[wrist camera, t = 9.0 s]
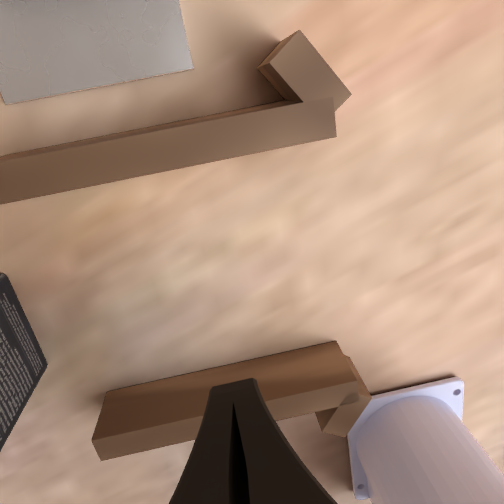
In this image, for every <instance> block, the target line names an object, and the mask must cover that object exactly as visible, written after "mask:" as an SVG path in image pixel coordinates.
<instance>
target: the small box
mask: <svg viewBox="0 0 504 504" xmlns="http://www.w3.org/2000/svg"><path fill="white" fill-rule="evenodd" d="M47 365H48V364H47V362H46V359H45V357H44V355H43V353H42V350H41V348H40V346H39V344H38V342H37V340H36V337H35V335H34V333H33V331H32V328H31V326H30V324H29V322H28V320H27V318H26V316H25V314H24V311H23V309H22V307H21V305H20V303H19V301H18V299H17V296H16V294H15V292H14V290H13V288H12V286H11V284H10V281H9V279H8V278H7V276H6V275H5V274H1V273H0V451H1V449H2V447H3V445H4V444H5V442H6V440H7V438H8V436H9V435H10V433H11V431H12V429H13V427H14V425H15V424H16V422H17V420H18V418H19V416H20V414H21V413H22V411H23V409H24V407H25V405H26V404H27V402H28V400H29V398H30V396H31V395H32V393H33V391H34V389H35V387H36V385H37V384H38V382H39V380H40V378H41V376H42V375H43V373H44V371H45V369H46V368H47Z"/></svg>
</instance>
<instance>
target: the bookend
mask: <svg viewBox="0 0 504 504" xmlns="http://www.w3.org/2000/svg"><path fill="white" fill-rule="evenodd" d="M192 69H194V68H193V64H192V59H191V54H190V50H189V45H188V40H187V36H186V31H185V27H184V22H183V17H182V13H181V8H180V3H179V0H0V92H1V95H2V97H3V100H4V102H5V104H14V103H19V102H25V101H30V100H35V99H40V98H46V97H51V96H56V95H61V94H66V93H72V92H77V91H82V90H87V89H93V88H98V87H103V86H108V85H114V84H119V83H124V82H129V81H134V80H140V79H145V78H150V77H155V76H161V75H166V74H171V73H176V72H181V71H187V70H192Z"/></svg>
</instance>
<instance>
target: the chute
mask: <svg viewBox="0 0 504 504" xmlns="http://www.w3.org/2000/svg"><path fill="white" fill-rule="evenodd" d="M257 69H258V70H259V71H260V72H261V73H262V74H263V75H264V77H265V78H266V79H267V80H268V81H269V82H270V83H271V84H272V86H273V87H274V88H275V89H276V90H277V91H278V92H279V93H280V95H281V96H282V97H283V98H284V99H285V101H279V102H274V103H269V104H264V105H259V106H254V107H249V108H244V109H239V110H234V111H228V112H223V113H218V114H213V115H208V116H203V117H198V118H193V119H188V120H182V121H177V122H172V123H167V124H162V125H157V126H152V127H147V128H142V129H137V130H131V131H126V132H121V133H116V134H111V135H106V136H101V137H96V138H91V139H85V140H80V141H75V142H70V143H65V144H60V145H55V146H50V147H45V148H40V149H34V150H29V151H24V152H19V153H14V154H9V155H5V156H2V157H0V204H5V203H10V202H15V201H20V200H25V199H30V198H35V197H40V196H45V195H50V194H55V193H60V192H65V191H70V190H75V189H80V188H85V187H90V186H95V185H100V184H105V183H110V182H115V181H119V180H124V179H129V178H134V177H139V176H144V175H149V174H154V173H159V172H164V171H169V170H174V169H179V168H184V167H189V166H194V165H199V164H204V163H209V162H214V161H219V160H224V159H229V158H234V157H239V156H244V155H249V154H254V153H259V152H264V151H269V150H274V149H279V148H284V147H289V146H294V145H299V144H304V143H309V142H314V141H319V140H324V139H329V138H334V137H337V136H336V124H335V111H336V110H337V109H338V108H339V107H340V106H341V105H342V104H343V103H344V102H345V101H346V100H347V99H348V98H349V97H350V96H351V95H352V94H351V93H350V91H349V90H348V89H347V88H346V86H345V85H344V84H343V83H342V82H341V80H340V79H339V78H338V77H337V75H336V74H335V73H334V72H333V70H332V69H331V68H330V67H329V65H328V64H327V63H326V62H325V60H324V59H323V58H322V57H321V55H320V54H319V53H318V52H317V50H316V49H315V48H314V47H313V45H312V44H311V43H310V42H309V41H308V39H307V38H306V37H305V36H304V34H303V33H302V32H301V31H300V30H298V31H296V32H295V33H293V34H292V35H290V36H289V37H287V38H285V39H284V40H282V41H281V42H280V43H279V44H278V45H277V46H276V48H275V49H274V50H273V51H272V52H271V53H270V54H269V55H268V56H267V57H266V59H265V60H264V61H263V62H262V63H261V64H260V65H259V66H258V67H257ZM248 378H254V379H256V380H257V383H258V387H259V390H260V392H261V395H262V397H263V399H264V402H265V404H266V406H267V408H268V410H269V411H270V413H271V415H272V417H273V419H274V420H275V421H278V420H282V419H287V418H291V417H296V416H300V415H304V414H309V413H313V412H315V413H316V416H317V419H318V422H319V425H320V427H321V430H322V432H325V433H329V434H332V435H336V436H340V437H344V438H345V437H346V435H347V434H348V432H349V431H350V430H351V428H352V427H353V425H354V424H355V422H356V421H357V419H358V418H359V417H360V415H361V414H362V412H363V411H364V409H365V408H366V406H367V405H368V404H369V402H370V401H371V399H372V397H371V395H370V393H369V392H368V390H367V388H366V386H365V384H364V383H363V381H362V379H361V377H360V375H359V374H358V372H357V370H356V368H355V366H354V364H353V363H352V361H351V359H350V357H347V356H344V355H343V353H342V351H341V349H340V347H339V345H338V343H337V341H333V342H329V343H324V344H320V345H315V346H311V347H306V348H302V349H297V350H293V351H288V352H284V353H279V354H275V355H270V356H266V357H261V358H257V359H252V360H248V361H243V362H239V363H234V364H230V365H225V366H221V367H216V368H212V369H207V370H203V371H198V372H194V373H189V374H185V375H180V376H175V377H171V378H166V379H162V380H157V381H153V382H148V383H144V384H139V385H135V386H130V387H126V388H121V389H117V390H112V391H108V392H107V393H106V396H105V400H104V403H103V406H102V409H101V412H100V415H99V418H98V422H97V425H96V428H95V431H94V434H93V437H92V440H91V441H92V443H93V445H94V447H95V449H96V451H97V454H98V456H99V458H100V460H101V461H103V460H108V459H112V458H116V457H121V456H125V455H129V454H134V453H138V452H143V451H147V450H151V449H156V448H160V447H164V446H169V445H173V444H178V443H182V442H186V441H191V440H195V439H196V437H197V434H198V432H199V429H200V426H201V422H202V419H203V416H204V412H205V409H206V405H207V401H208V397H209V391H210V389H211V388H212V387H213V386H218V385H222V384H226V383H231V382H235V381H240V380H244V379H248Z"/></svg>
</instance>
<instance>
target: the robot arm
mask: <svg viewBox="0 0 504 504" xmlns="http://www.w3.org/2000/svg"><path fill="white" fill-rule="evenodd" d="M463 396H464V382H463V381H462V380H461V379H460V378H459V377H452V378H448V379H444V380H439V381H435V382H430V383H426V384H422V385H417V386H413V387H409V388H404V389H400V390H395V391H391V392H387V393H382V394H378V395H374V396H371V397H372V399H371V401H370V402H369V404H368V405H367V406H366V408H365V409H364V411H363V412H362V414H361V415H360V417H359V418H358V419H357V421H356V422H355V424H354V425H353V427H352V428H351V430H350V431H349V432H348V434H347V437H348V447H349V456H350V465H351V475H352V484H353V493H354V496H355V498H356V499H358V500H363V499H367V498H370V500H371V503H372V504H504V474H503V473H502V472H501V471H500V469H499V468H498V467H497V466H496V464H495V463H494V462H493V460H492V459H491V458H490V457H489V455H488V454H487V453H486V452H485V450H484V449H483V448H482V446H481V445H480V444H479V443H478V441H477V440H476V439H475V438H474V436H473V435H472V434H471V432H470V431H469V430H468V429H467V427H466V426H465V425H464V424H463V422H462V413H463ZM169 504H337V503H336V502H335V500H334V499H333V498H332V497H331V496H330V495H329V494H328V493H327V491H326V490H325V489H324V488H323V487H322V486H321V484H320V483H319V482H318V481H317V480H316V478H315V477H314V476H313V475H312V473H311V472H310V471H309V470H308V468H307V467H306V466H305V465H304V463H303V462H302V461H301V459H300V458H299V457H298V455H297V454H296V452H295V451H294V450H293V448H292V447H291V445H290V444H289V442H288V441H287V439H286V438H285V436H284V435H283V433H282V432H281V430H280V428H279V427H278V425H277V423H276V422H275V420H274V419H273V417H272V415H271V413H270V411H269V410H268V408H267V406H266V404H265V402H264V399H263V397H262V395H261V392H260V390H259V387H258V383H257V380H256V379H254V378H248V379H244V380H240V381H235V382H231V383H226V384H222V385H218V386H213V387H212V388H211V389H210V391H209V397H208V401H207V405H206V409H205V412H204V416H203V419H202V422H201V426H200V429H199V432H198V434H197V437H196V440H195V443H194V446H193V449H192V451H191V454H190V456H189V459H188V461H187V464H186V466H185V469H184V471H183V473H182V476H181V478H180V481H179V483H178V485H177V487H176V489H175V492H174V494H173V496H172V498H171V500H170V502H169Z"/></svg>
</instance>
